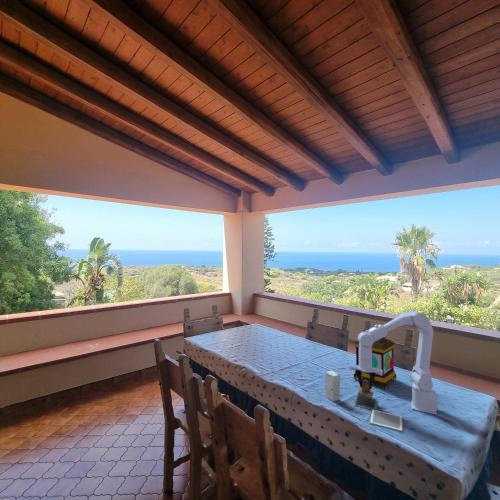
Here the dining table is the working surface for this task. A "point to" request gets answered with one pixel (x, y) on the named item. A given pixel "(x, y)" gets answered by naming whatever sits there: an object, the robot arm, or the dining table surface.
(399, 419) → the marked board
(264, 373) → the dining table surface
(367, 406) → the ink pad
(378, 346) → the decorative lantern
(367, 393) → the stamp
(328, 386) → the skincare box
